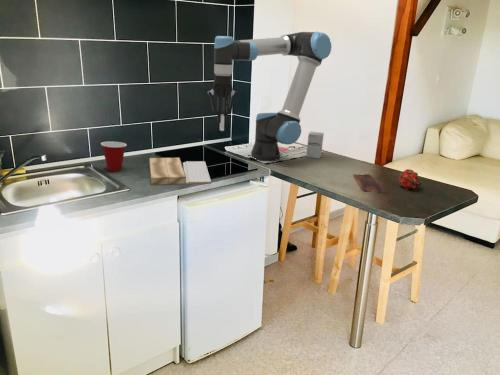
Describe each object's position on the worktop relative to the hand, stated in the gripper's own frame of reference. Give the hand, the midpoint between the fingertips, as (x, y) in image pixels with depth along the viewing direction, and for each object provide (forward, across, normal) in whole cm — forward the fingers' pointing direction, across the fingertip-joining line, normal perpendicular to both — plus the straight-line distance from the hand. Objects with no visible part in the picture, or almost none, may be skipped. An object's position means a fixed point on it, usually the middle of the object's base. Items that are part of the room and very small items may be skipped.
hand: (221, 130), depth 187 cm
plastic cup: (+19, +46, -8) cm, 51 cm away
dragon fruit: (+20, -77, +30) cm, 85 cm away
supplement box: (+20, -55, -24) cm, 63 cm away
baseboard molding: (+20, +12, 0) cm, 23 cm away
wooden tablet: (+20, -62, +22) cm, 69 cm away
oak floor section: (+19, +24, 0) cm, 31 cm away
